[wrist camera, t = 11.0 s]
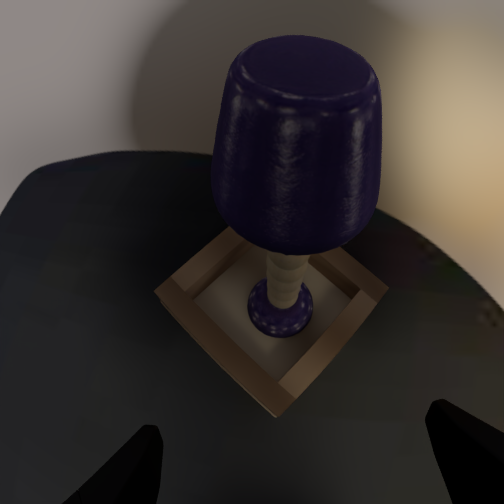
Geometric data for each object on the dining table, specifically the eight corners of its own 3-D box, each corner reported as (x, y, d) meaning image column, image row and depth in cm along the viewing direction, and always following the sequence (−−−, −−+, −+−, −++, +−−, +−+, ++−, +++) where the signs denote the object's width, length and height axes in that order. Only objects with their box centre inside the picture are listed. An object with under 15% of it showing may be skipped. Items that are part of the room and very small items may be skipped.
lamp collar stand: (274, 417, 18) (278, 419, 15) (163, 306, 21) (151, 290, 18) (374, 302, 21) (390, 287, 19) (268, 214, 25) (270, 190, 22)
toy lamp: (270, 357, 19) (326, 190, 4) (223, 303, 20) (147, 59, 5) (325, 308, 20) (461, 89, 5) (278, 259, 22) (308, 7, 6)
